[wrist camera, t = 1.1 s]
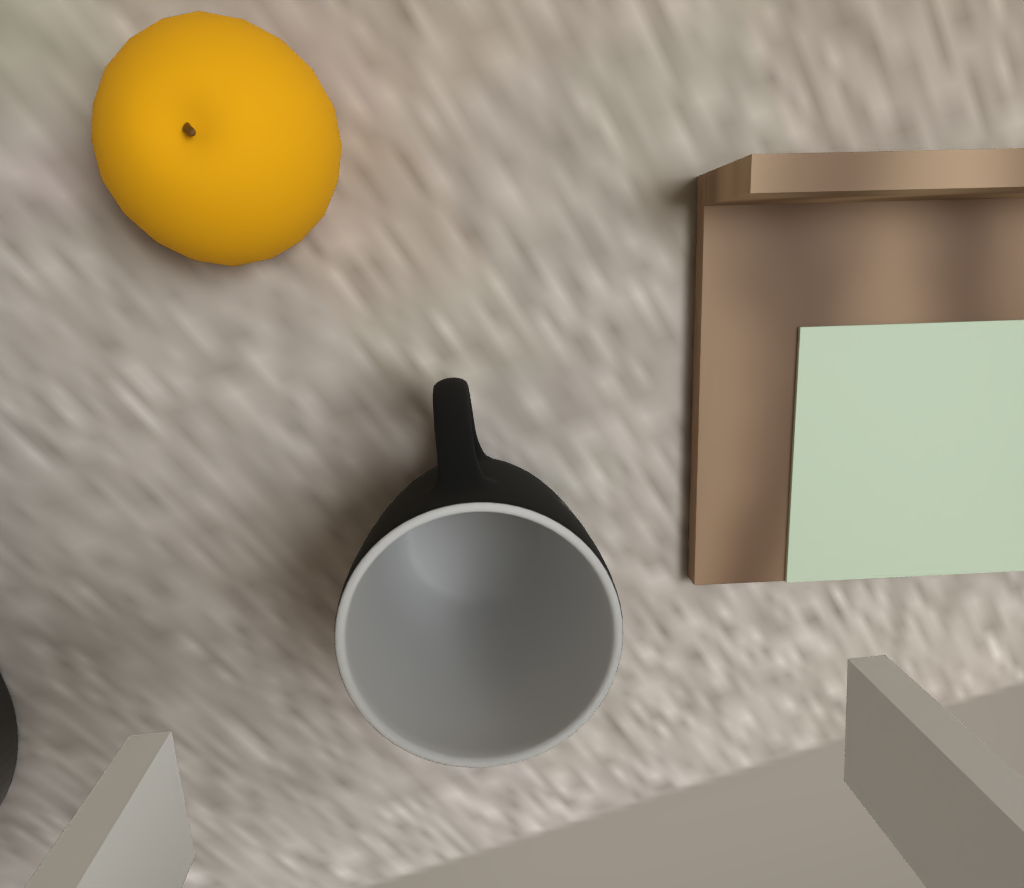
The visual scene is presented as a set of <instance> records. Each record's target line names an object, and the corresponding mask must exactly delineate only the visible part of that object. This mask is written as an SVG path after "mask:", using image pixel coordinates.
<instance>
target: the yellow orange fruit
mask: <svg viewBox="0 0 1024 888" xmlns="http://www.w3.org/2000/svg"><path fill="white" fill-rule="evenodd" d="M92 144H93V148H94V152H95V156H96V160H97V163H98V167H99V171H100V175H101V178H102V181H103V182H104V184H105V185H106V187H107V188H108V190H109V191H110V193H111V194H112V196H113V197H114V199H115V201H116V202H117V204H118V205H119V207H120V208H121V210H122V211H123V213H124V214H125V215H126V216H127V217H129V218H130V219H131V220H132V221H133V222H134V223H135V224H137V225H138V226H139V227H140V228H141V229H142V230H143V231H145V232H146V233H147V234H148V235H149V236H150V237H151V238H153V239H154V240H155V241H156V242H157V243H159V244H161V245H163V246H165V247H167V248H169V249H172V250H174V251H176V252H178V253H180V254H182V255H184V256H186V257H188V258H190V259H193V260H196V261H201V262H208V263H214V264H221V265H228V266H238V265H243V264H248V263H252V262H257V261H262V260H267V259H271V258H273V257H275V256H277V255H278V254H280V253H282V252H284V251H285V250H287V249H289V248H290V247H292V246H294V245H296V244H297V243H299V242H300V241H301V240H302V239H303V238H304V237H305V236H306V235H307V234H308V233H309V232H310V230H311V229H312V228H313V227H314V226H315V225H316V224H317V223H318V222H319V221H320V219H321V218H322V217H323V216H324V215H325V212H326V210H327V207H328V205H329V202H330V200H331V197H332V195H333V192H334V190H335V187H336V185H337V183H338V177H339V167H340V157H341V147H342V145H341V140H340V135H339V129H338V124H337V119H336V114H335V109H334V107H333V105H332V103H331V101H330V99H329V98H328V96H327V94H326V92H325V91H324V89H323V87H322V85H321V84H320V82H319V80H318V78H317V77H316V75H315V73H314V71H313V70H312V69H311V68H310V67H309V66H308V65H307V64H306V63H305V62H304V61H303V60H302V59H301V58H300V57H299V56H298V55H297V54H296V53H295V52H294V51H293V50H292V49H291V48H290V47H289V46H288V45H287V44H286V43H285V42H283V41H282V40H281V39H279V38H278V37H276V36H274V35H272V34H270V33H268V32H266V31H264V30H263V29H261V28H259V27H257V26H255V25H253V24H251V23H249V22H247V21H246V20H244V19H238V18H233V17H228V16H222V15H217V14H212V13H206V12H201V11H197V12H192V13H187V14H182V15H178V16H173V17H168V18H163V19H161V20H159V21H158V22H156V23H154V24H153V25H151V26H149V27H148V28H146V29H144V30H143V31H141V32H140V33H138V34H136V35H135V36H133V37H131V38H130V39H129V40H128V41H127V42H126V44H125V45H124V46H123V47H122V48H121V50H120V51H119V52H118V53H117V54H116V56H115V57H114V58H113V59H112V60H111V61H110V63H109V64H108V65H107V66H106V67H105V70H104V73H103V76H102V79H101V82H100V85H99V88H98V91H97V94H96V96H95V99H94V102H93V114H92Z"/></svg>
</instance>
